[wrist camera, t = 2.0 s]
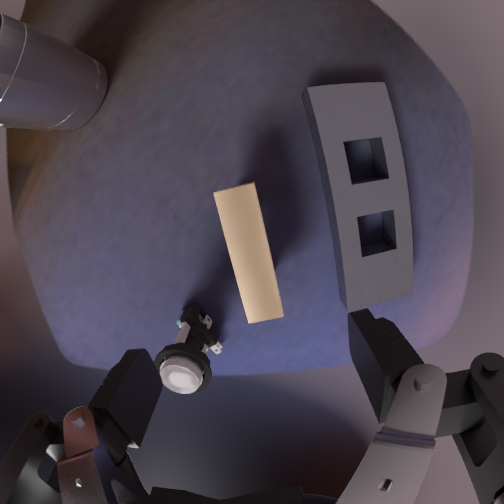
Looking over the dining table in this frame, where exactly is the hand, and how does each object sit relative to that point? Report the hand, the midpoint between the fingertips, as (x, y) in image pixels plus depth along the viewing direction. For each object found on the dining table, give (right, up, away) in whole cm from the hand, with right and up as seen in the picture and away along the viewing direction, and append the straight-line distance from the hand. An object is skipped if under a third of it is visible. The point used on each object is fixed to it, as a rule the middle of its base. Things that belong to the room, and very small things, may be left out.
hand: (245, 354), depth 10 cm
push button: (-5, -5, +21) cm, 22 cm away
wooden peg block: (0, +5, +18) cm, 19 cm away
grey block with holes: (+12, +10, +16) cm, 22 cm away
